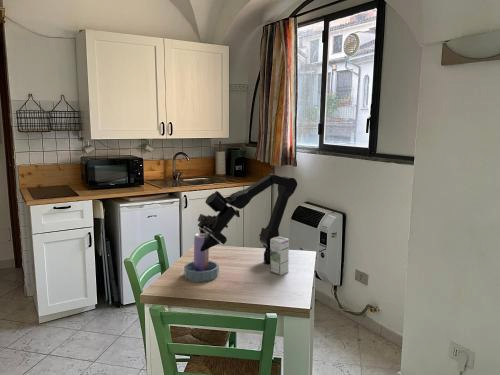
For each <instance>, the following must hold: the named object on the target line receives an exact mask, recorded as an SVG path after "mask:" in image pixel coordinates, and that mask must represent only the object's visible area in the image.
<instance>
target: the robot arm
mask: <svg viewBox="0 0 500 375" xmlns="http://www.w3.org/2000/svg"><path fill="white" fill-rule="evenodd" d="M274 184H275V185H277V197H276V201H275V204H274V206H273V209H272V212H271V215H270V219H269V221H268V224H267V226H266V227H265V228H264V227H262V228H261V229H260V230H261V232H260V234H259V235H258V236H259V241H260V244H261V245H262V246H263V248H265V250H264V251H263V262H264V265H270V239H272V238H274V237H278V236H279V237H280V231H279V230H280V225H281V222H282V220H283V216H284V213H285V210H286V207H287V204H288V201H289V199H290V197H291V196H292V195H293V194H294V193H295V191H296V189H297V188H298V182H297V180H296V178H294V177H291V176H290V177H289V176H286V175H283V176H280V175H277V174H275V173H268V174H266V176H264V177H263V178H261V179H260V180H258V181H256V182H255V183H252V184H251V185H250V186H248V187H247V188H245V189H242V190H238V191H236V192H233V193H231V194H230V195H228V196H226V197H224V196H223V195H222V194H221V192H219V191H218V190H216V191H215V192H213V193H212V194H210V195H208V196H207V198H206V199H205V201H204V202H205V204H206V205H207V206H208V207H209V208H210V209H211V210H212V211H214V212H215V213H217V212H218V213H217V214H216V215H215V214H214V215H210V214H208V215H205V214H203V213H200V214H199V216H198V219H197V222H198V224H197V227H198V229H199V233H205V234H207V240H206V241H205V243H204V244H203V246H202V248H201V249H200V251H202V252H203V251H205V250H207V249H209V250H210V249H211V248H212V247H215V246H217V245H221V244H222V245H225V244H226V242H228V241H227V240H228V239H227V237H226V236H225V235H224V234H222V231H223V230H224V229H225V228H226V229H227V228H228V227H229V225H228V224H230V221H231V220H232V219H233V218H234V217H237V218H240V217H241V215H240V210H241V209H243V208H245V207H246V206H247V205H249V203H250V202H251V200H252V199H253V198H254V197H256V196H257V195H260V193H262V192H264V191H265V190H266V189H268V188H270V187H271V186H273V185H274ZM235 208H237V209H235Z"/></svg>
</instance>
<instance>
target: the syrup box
mask: <svg viewBox="0 0 500 375" xmlns="http://www.w3.org/2000/svg"><path fill="white" fill-rule="evenodd" d="M289 240H290V239H289V238H286V237H283V236H280V235H279V236H278V237H274V238H272V239H270V264H269V265H270V266H269V267H270V270H269V271H270V273H273V274H276V275H279V276H283V275H284V274H287V273H289V268H290V267H289V263H290V262H289V261H290V260H289V258H290V257H289V252H290V250H289V248H290V241H289Z"/></svg>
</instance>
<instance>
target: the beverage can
mask: <svg viewBox="0 0 500 375" xmlns="http://www.w3.org/2000/svg"><path fill="white" fill-rule="evenodd" d="M206 240H207V234H205V233H200V232H198V233H195V234H194V240H193V241H194V242H193V246H194V247H193V261H194V271H198V272H203V271H208V265H209V261H210V260H209V259H210V258H209V256H210V248H209V249H207V250H205V251H203V252H202V251H200V249H201V248H202V246H203V244H204V243H205V241H206Z"/></svg>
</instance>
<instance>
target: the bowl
mask: <svg viewBox="0 0 500 375" xmlns="http://www.w3.org/2000/svg"><path fill="white" fill-rule="evenodd" d="M219 270H220V265H219V264H218V263H217V261H212V260H209V265H208V271H203V272H198V271H194V260H192V261H190V262H187V263H186V264H185V265H184V266H183V274H184V278H185V279H186V280H187V281H190V282H194V283H203V282H204V283H205V282H206V283H207V282H210V281H213V280H216V279H217V278H218V277H219V273H220V271H219Z"/></svg>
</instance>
